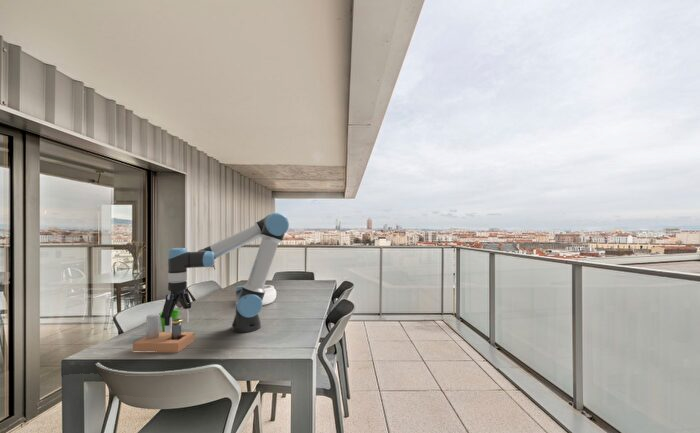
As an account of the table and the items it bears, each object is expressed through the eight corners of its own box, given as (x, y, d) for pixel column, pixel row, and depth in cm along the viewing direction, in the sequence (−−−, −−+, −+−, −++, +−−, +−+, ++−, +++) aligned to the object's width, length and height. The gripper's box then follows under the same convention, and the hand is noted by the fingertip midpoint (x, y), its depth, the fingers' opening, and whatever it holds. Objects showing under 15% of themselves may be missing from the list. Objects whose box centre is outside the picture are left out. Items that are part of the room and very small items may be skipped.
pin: (184, 344, 140) (184, 318, 140) (178, 348, 135) (178, 321, 136) (173, 344, 140) (174, 318, 140) (167, 348, 135) (168, 321, 136)
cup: (169, 337, 148) (170, 315, 149) (154, 336, 150) (154, 314, 150) (183, 331, 157) (183, 310, 157) (168, 330, 159) (168, 309, 159)
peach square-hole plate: (194, 340, 144) (195, 311, 145) (178, 352, 130) (178, 320, 131) (153, 340, 144) (154, 311, 145) (132, 352, 130) (133, 320, 131)
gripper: (184, 276, 151) (184, 318, 150) (151, 286, 126) (151, 337, 125) (199, 276, 151) (198, 318, 150) (169, 286, 126) (168, 337, 125)
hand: (177, 327), depth 138 cm, fingers open, 13 cm apart
